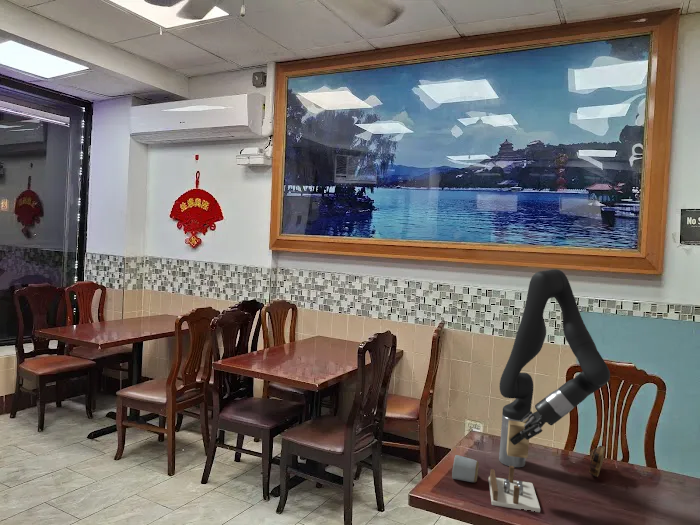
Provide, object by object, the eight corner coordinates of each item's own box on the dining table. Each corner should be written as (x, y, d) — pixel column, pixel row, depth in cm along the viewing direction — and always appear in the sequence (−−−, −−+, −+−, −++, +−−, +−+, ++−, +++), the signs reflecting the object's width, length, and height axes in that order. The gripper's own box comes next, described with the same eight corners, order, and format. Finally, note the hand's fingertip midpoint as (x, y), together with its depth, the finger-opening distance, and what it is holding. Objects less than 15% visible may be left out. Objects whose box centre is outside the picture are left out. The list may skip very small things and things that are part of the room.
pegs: (521, 490, 165) (522, 480, 165) (522, 496, 161) (523, 486, 161) (503, 487, 166) (504, 478, 166) (504, 493, 162) (505, 483, 162)
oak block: (525, 453, 165) (528, 422, 164) (527, 458, 161) (529, 427, 160) (506, 450, 166) (508, 420, 165) (507, 455, 162) (509, 424, 161)
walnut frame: (512, 480, 171) (513, 466, 171) (518, 504, 156) (519, 488, 156) (490, 477, 173) (491, 463, 173) (493, 500, 157) (494, 484, 157)
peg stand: (531, 486, 171) (532, 483, 171) (540, 512, 154) (540, 508, 154) (488, 480, 173) (488, 476, 173) (491, 504, 157) (492, 501, 157)
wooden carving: (589, 464, 192) (592, 438, 191) (603, 467, 189) (605, 441, 189) (586, 481, 177) (589, 453, 177) (601, 485, 175) (603, 456, 174)
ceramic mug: (476, 487, 168) (478, 464, 168) (451, 482, 170) (452, 459, 170) (478, 474, 178) (480, 452, 178) (454, 469, 180) (456, 448, 180)
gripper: (542, 391, 168) (501, 422, 171) (550, 404, 154) (505, 438, 157) (558, 408, 167) (516, 440, 170) (567, 424, 153) (522, 458, 156)
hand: (511, 439), depth 163 cm, fingers closed on oak block, 4 cm apart
